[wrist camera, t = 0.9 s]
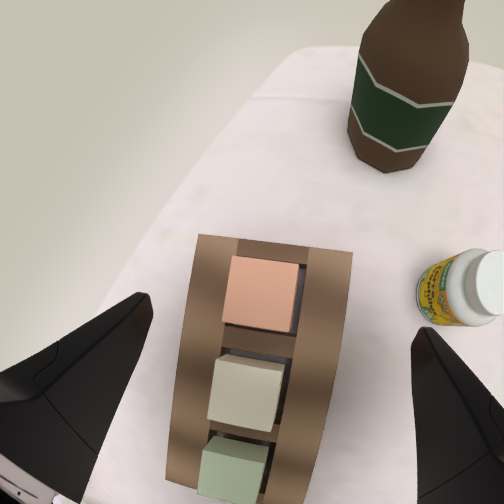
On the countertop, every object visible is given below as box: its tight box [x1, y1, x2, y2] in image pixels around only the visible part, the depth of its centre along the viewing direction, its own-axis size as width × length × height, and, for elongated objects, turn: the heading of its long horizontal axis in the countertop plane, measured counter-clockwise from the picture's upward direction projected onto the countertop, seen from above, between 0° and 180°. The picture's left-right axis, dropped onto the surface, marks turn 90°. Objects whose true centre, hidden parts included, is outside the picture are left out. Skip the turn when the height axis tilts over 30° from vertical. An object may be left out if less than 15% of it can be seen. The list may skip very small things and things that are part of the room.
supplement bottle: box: [417, 249, 504, 327], centre depth 19 cm, size 5×5×10 cm
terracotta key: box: [222, 256, 299, 332], centre depth 22 cm, size 4×4×3 cm
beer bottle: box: [347, 0, 469, 173], centre depth 15 cm, size 8×8×24 cm
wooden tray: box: [165, 234, 353, 504], centre depth 23 cm, size 22×12×3 cm, turn 171°
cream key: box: [207, 354, 285, 432], centre depth 20 cm, size 4×4×3 cm
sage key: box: [197, 435, 269, 504], centre depth 19 cm, size 4×4×3 cm
